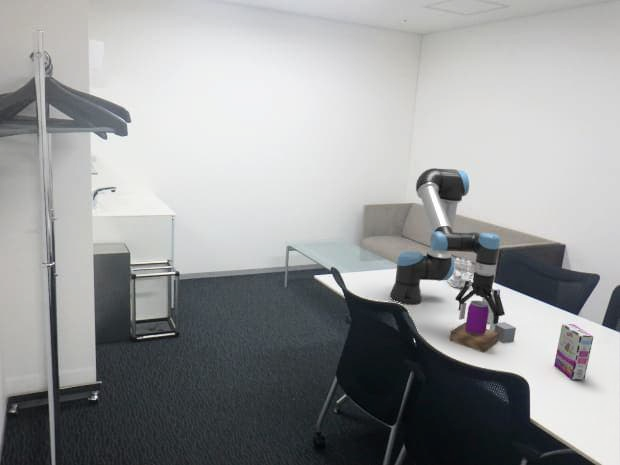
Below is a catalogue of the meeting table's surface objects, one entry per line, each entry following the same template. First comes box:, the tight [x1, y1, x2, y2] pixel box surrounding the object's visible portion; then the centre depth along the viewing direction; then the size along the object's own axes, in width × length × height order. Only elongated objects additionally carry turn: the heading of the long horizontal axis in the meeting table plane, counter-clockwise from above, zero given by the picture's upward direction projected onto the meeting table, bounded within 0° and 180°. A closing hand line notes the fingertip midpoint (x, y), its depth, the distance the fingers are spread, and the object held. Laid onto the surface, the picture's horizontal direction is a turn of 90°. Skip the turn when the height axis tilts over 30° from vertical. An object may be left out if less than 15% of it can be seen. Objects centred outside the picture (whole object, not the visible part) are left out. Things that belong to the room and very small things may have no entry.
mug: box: [481, 292, 495, 324], centre depth 219 cm, size 10×7×12 cm, turn 178°
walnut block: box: [449, 321, 499, 353], centre depth 194 cm, size 14×14×4 cm
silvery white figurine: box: [446, 257, 474, 289], centre depth 267 cm, size 20×10×18 cm, turn 2°
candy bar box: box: [554, 323, 594, 381], centre depth 172 cm, size 11×5×16 cm, turn 5°
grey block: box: [495, 321, 517, 344], centre depth 199 cm, size 6×6×6 cm
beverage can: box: [465, 300, 489, 335], centre depth 193 cm, size 8×8×12 cm
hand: (476, 324), depth 193 cm, fingers open, 13 cm apart
